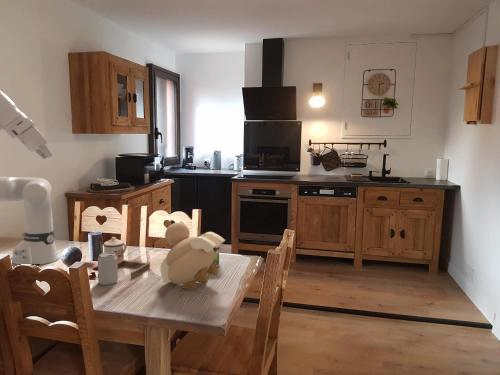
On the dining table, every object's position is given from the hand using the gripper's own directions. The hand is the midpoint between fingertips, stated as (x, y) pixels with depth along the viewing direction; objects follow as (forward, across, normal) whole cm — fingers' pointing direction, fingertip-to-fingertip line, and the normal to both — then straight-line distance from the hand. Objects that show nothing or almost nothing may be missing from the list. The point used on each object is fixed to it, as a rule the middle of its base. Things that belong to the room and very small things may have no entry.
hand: (48, 157), depth 143 cm
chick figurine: (+69, +26, 0) cm, 74 cm away
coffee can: (+80, +8, +17) cm, 83 cm away
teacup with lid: (+57, -22, -7) cm, 62 cm away
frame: (+58, -4, -9) cm, 59 cm away
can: (+52, +3, -18) cm, 55 cm away
